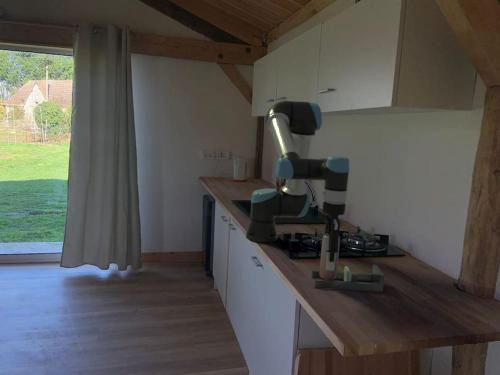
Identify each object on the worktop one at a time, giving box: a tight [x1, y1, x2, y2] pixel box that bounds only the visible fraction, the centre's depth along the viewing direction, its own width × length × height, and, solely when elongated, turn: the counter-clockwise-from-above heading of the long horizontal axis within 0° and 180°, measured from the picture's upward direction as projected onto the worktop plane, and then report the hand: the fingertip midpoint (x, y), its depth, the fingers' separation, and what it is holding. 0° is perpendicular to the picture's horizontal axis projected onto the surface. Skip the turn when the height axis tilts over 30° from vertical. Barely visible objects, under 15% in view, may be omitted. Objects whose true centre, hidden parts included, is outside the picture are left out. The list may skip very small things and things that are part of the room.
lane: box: [310, 264, 386, 293], centre depth 141 cm, size 10×23×6 cm, turn 89°
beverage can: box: [319, 233, 341, 280], centre depth 140 cm, size 6×6×15 cm
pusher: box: [342, 265, 358, 282], centre depth 141 cm, size 7×3×5 cm, turn 179°
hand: (328, 266), depth 141 cm, fingers closed on beverage can, 6 cm apart
